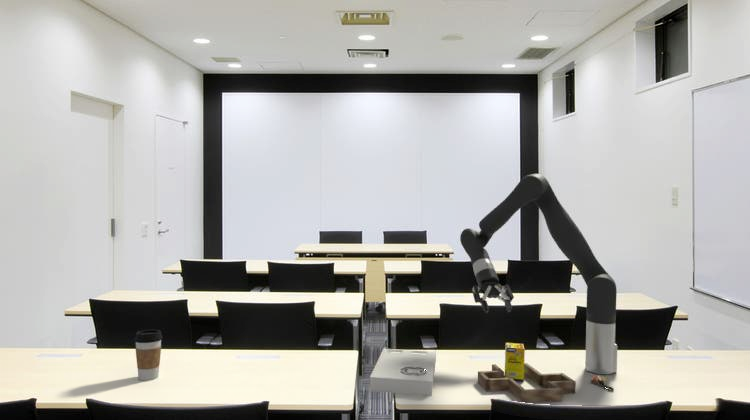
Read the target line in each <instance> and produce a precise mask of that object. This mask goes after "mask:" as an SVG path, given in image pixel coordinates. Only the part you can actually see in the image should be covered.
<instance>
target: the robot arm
mask: <svg viewBox="0 0 750 420" xmlns="http://www.w3.org/2000/svg"><path fill="white" fill-rule="evenodd" d="M531 202H534V203H535V205H536V206H537V207H538V209H540V212H541V214H542V215H543V218H544V221H545V224H546V226H547V229H548V232H549V233H550V235H551V239H552V240H553V241H554V242H555V244H556V245H557V247H558V249H559V250H560V251H561V252H562V254H563V255H564V256H565V257H566V258H567V259H568V261H570V262H571V263H572V264H573V265H574V266H575V268H576V269H577V271H578V272H579V273H580V275H581V277H582V279H583V281H584V283H585V285H586V328H585V330H586V331H585V334H586V335H585V366H584V369H585V370H586V371H588V372H590V373H592V374H597V375H598V374H599V375H612V373H613V374H614V372H616V373H617V372H618V371H617V370H618V344H617V343H616V320H617V319H616V317H617V294H618V292H617V285H616V282H615V280H614V279H613V278H612V277H611V275H610V274H609V273H608V272H607V271H606V269H605V268H604V267H603V266H602V265H601V263H600V262H599V260H597V258H596V256H595V255H594V253H593V250H592V249H591V247H590V245H589V244H588V241H587V240H586V237H584V235H583V233H582V231H581V230H580V228H579V226H577V224H576V223H575V221H574V220H573V218H571V216H570V215H569V213H568V212H567V211H566V209H565V208H564V207H563V205H562V204H561V202H560V201H559V199H558V197H557V196H556V193H555V191H554V190H553V188H552V186H551V185H550V182H549V181H548V179H547V177H545V176H544V175H543V174H541V173H532V174H527V175H524V176H523V177H522V178H521V179H520V181H519V182H518V183H517V184H516V186H515V187H514V189H512V191H511V192H510V193H509V194H508V195H507V196H506V198H505V199H503V201H502V202H500V203H499V204H497V206H495V208H493V209H492V210H491V211H490V212H489V213H488V214H486V215H485V216H484V217H483V218H482V219H481V220H480V221H479V223H478V227H479V229H480V231H478V230H475V229H474V228H464V229H463V231H461V233H460V235H459V237H460V239H459V240H460V241H459V242H460V243H461V246H462V247H463V250H464V251H465V252H466V255H468V257H469V258H470V262H471V266H472V268H473V273H474V274H473V275H474V276H475V280H476V283H477V284H474V285H473V286H472V288H471V291H472V295H473V300H474V302H475V304H477V303H480V305H481V308H482V310H483V312H484V313H485V314H488V313H489V311H490V307H489V303H488V301H487V298H488V299H498V300H500V301H502V302H503V303H504V306H505V308H506V312H507V313H511V311H513V310H512V309H513V305H512V303H511V302H512V301H513V300H514V298H515V297H514V293H513V291H512V289H511V288H510V285H509V284H505V285H501V284H500V281H499V279H500V278H499V277H498V275H497V271H496V269H495V267H494V264H493V262H492V259H491V257H490V254H489V252H488V251H487V249H485V247H486V246H487V245H488V244H489V242H490V240H491V239H492V237H493V236H494V234H495V233H496V232H497V231H499V230H500V229H501V228H502V227H504V225H505V224H506V223H508V222H509V221H510V219H511V218H512V217H513V216H514V215H515V214H516V213H517V212H518V211H519V210H520V209H522V208H523V207H524V206H526V205H527V204H529V203H531ZM480 293H482V297H481V295H480Z"/></svg>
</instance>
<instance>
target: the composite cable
mask: <svg viewBox="0 0 750 420" xmlns="http://www.w3.org/2000/svg"><path fill="white" fill-rule="evenodd" d="M591 377H592V379H590V383H591V384H592V383H593V384H592V385H595V384H596V385H595V386H597V385H599V386H598V387H600V386H601V387H600V388H602V387H603V388H604V389H603V388H602V389H603V390H605V389H606V388H609V389H611V390H609V389H606V390H608V391H607V392H609V391H615V390H614V388H613V387H611V386H610V385H605V382H606V378H605V377H604V376H601V375H600V374H599V375H598V374H597V377H596V376H593V375H592V376H591ZM605 387H606V388H605ZM606 390H605V391H606Z"/></svg>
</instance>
